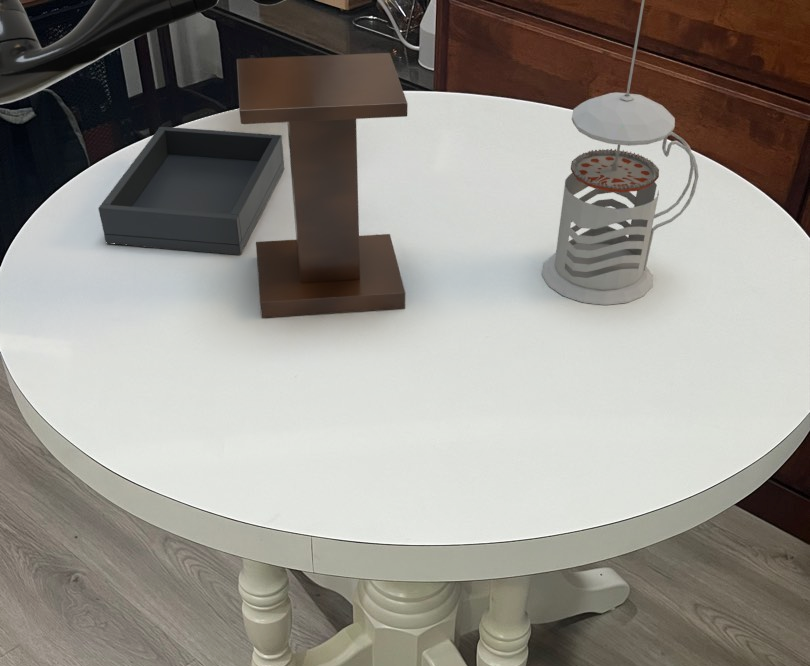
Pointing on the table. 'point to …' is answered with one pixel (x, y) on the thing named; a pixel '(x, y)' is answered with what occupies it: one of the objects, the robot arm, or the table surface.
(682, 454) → the table surface
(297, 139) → the stand
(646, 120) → the french press
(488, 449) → the table surface
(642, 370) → the table surface
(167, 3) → the robot arm
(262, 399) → the table surface
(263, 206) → the tray
